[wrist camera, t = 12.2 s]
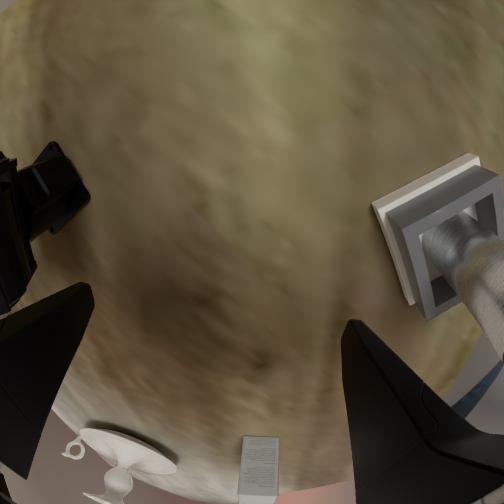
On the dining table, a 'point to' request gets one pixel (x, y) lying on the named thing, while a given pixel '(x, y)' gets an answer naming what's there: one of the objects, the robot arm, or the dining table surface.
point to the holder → (430, 215)
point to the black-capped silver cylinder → (472, 270)
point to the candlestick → (121, 460)
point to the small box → (259, 470)
